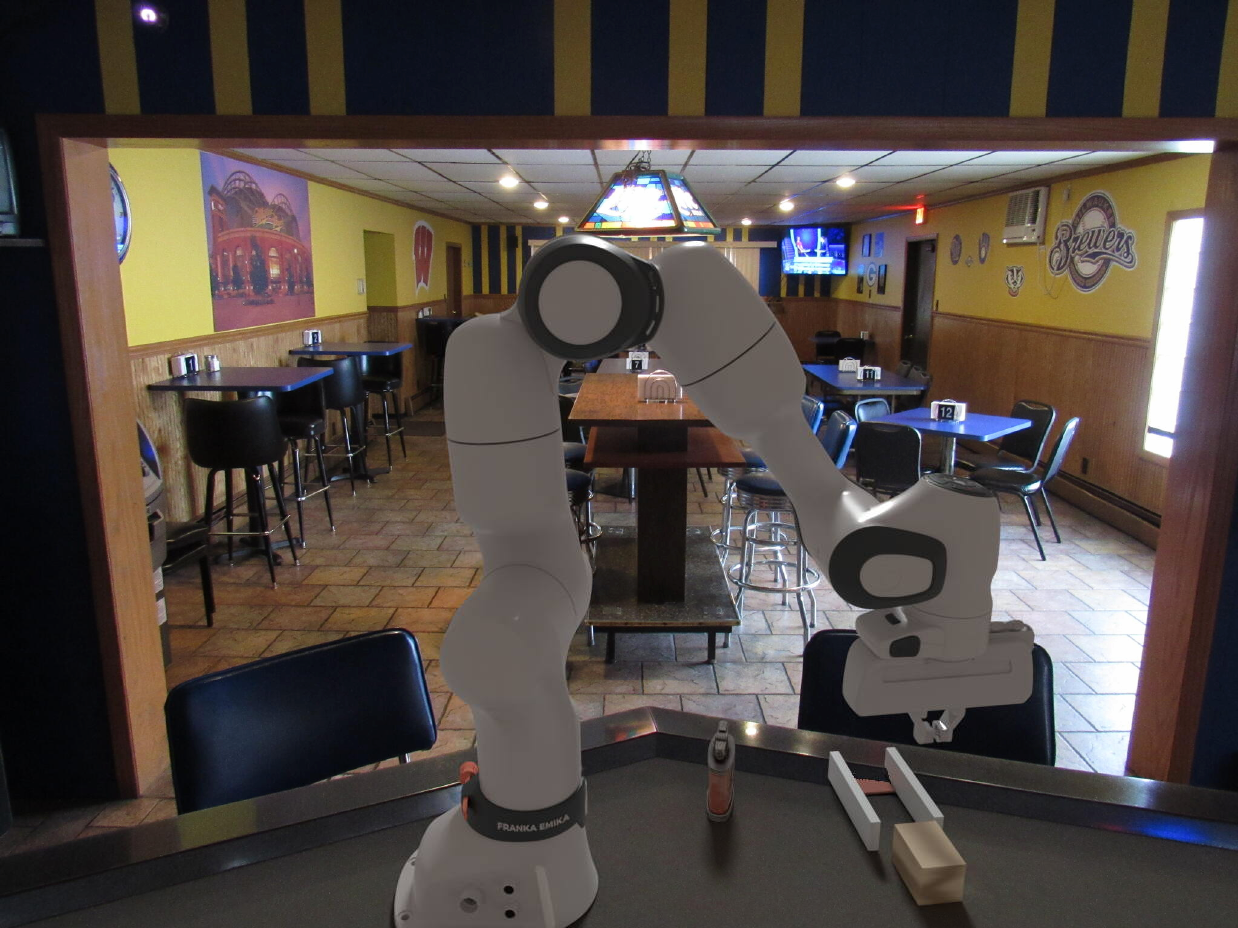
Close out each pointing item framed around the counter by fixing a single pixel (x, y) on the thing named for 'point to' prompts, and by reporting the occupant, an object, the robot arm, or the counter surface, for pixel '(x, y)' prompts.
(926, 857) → the maple block
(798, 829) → the counter surface
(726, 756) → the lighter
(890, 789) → the trap pad
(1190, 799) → the counter surface
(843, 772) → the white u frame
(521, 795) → the robot arm
